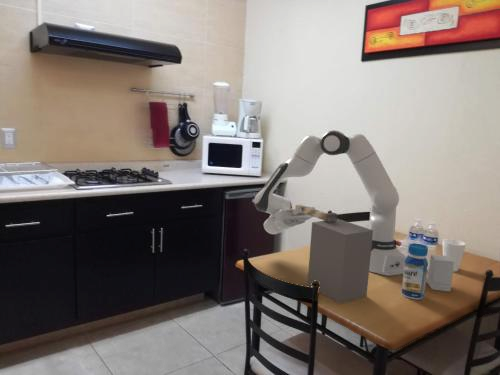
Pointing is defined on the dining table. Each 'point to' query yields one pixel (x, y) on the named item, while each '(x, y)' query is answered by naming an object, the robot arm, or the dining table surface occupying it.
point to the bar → (318, 214)
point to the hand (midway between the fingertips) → (305, 209)
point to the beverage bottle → (415, 272)
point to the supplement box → (440, 272)
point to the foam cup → (453, 251)
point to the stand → (340, 259)
